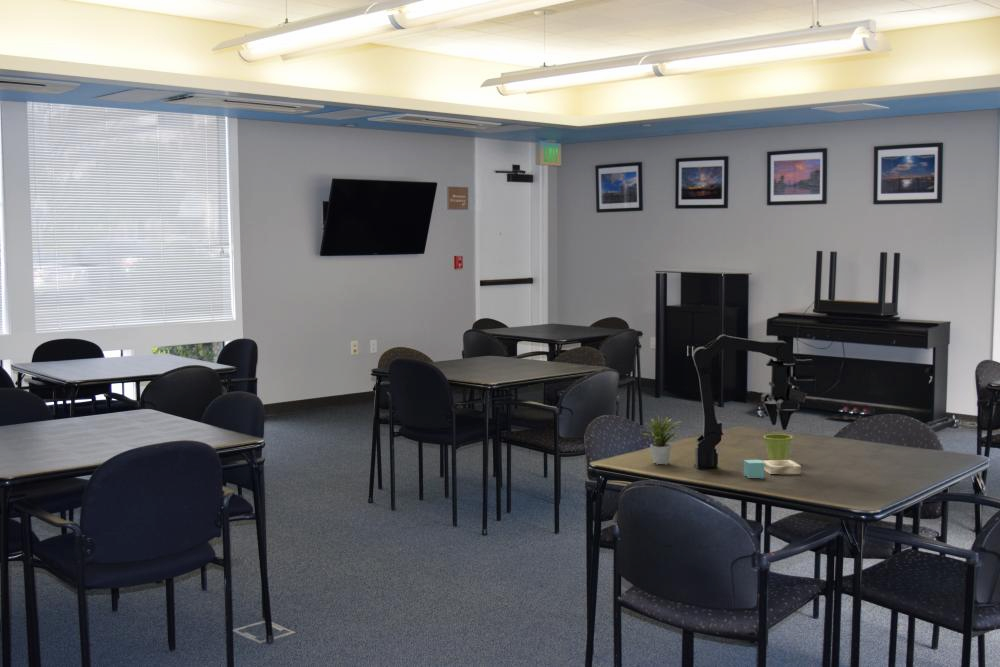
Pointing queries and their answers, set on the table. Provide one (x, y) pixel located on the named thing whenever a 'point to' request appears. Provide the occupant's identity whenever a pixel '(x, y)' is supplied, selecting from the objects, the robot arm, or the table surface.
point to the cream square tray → (781, 467)
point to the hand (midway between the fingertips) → (778, 427)
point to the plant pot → (778, 446)
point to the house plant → (661, 440)
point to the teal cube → (754, 468)
